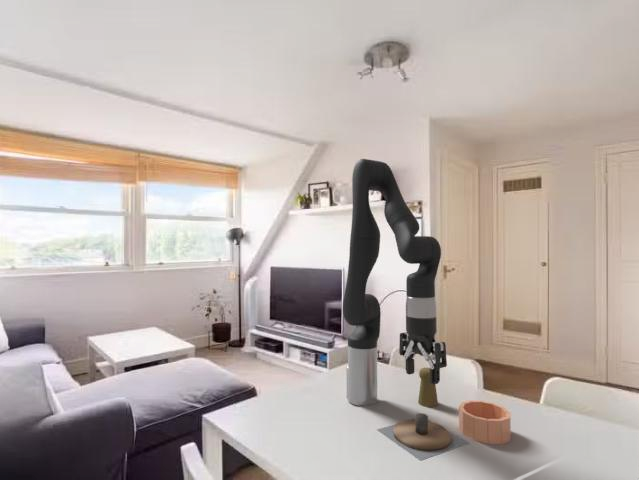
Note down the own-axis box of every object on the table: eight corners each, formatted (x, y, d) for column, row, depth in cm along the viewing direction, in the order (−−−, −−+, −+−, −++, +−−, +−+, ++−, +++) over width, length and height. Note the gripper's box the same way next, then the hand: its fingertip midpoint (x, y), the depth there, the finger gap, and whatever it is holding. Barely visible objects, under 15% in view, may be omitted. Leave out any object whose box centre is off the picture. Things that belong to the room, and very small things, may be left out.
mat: (376, 431, 97) (376, 429, 97) (422, 418, 104) (422, 416, 104) (420, 462, 83) (420, 460, 83) (469, 444, 90) (469, 442, 90)
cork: (439, 409, 110) (439, 372, 110) (418, 408, 111) (418, 371, 111) (437, 401, 116) (436, 366, 116) (417, 399, 117) (417, 364, 117)
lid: (382, 430, 96) (382, 410, 97) (422, 418, 103) (422, 400, 103) (420, 457, 84) (420, 434, 84) (463, 441, 91) (463, 421, 91)
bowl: (449, 428, 98) (449, 405, 98) (480, 418, 104) (480, 397, 104) (489, 450, 88) (489, 424, 88) (520, 438, 93) (520, 414, 94)
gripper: (453, 317, 90) (454, 384, 89) (412, 309, 102) (413, 368, 102) (430, 320, 86) (431, 390, 86) (391, 311, 99) (392, 372, 98)
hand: (421, 378), depth 94 cm, fingers open, 8 cm apart
